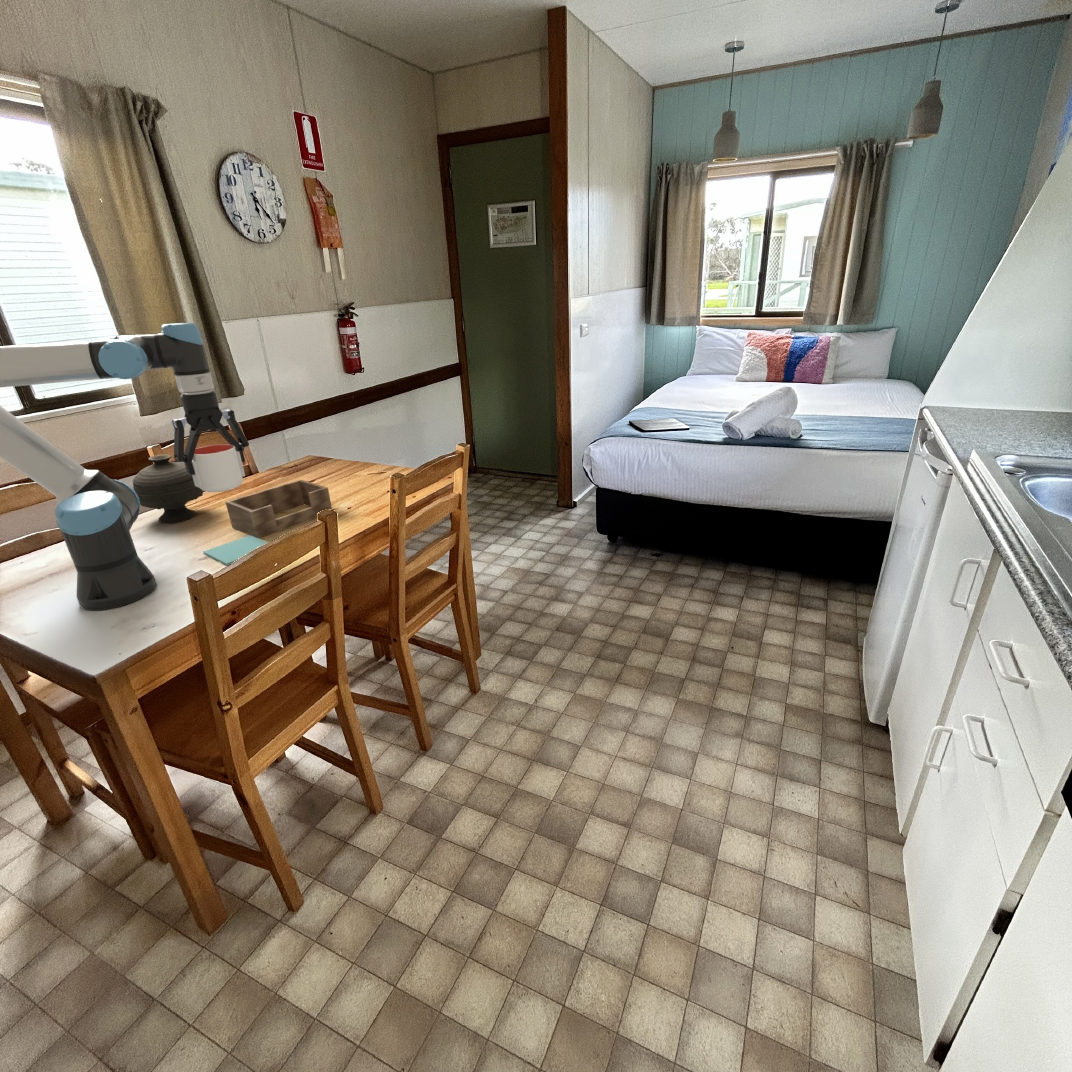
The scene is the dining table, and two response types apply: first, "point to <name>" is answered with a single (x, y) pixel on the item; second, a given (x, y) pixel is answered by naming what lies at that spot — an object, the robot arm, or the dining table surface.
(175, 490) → the pot
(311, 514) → the crate
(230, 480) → the cup
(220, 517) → the dining table surface
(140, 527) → the dining table surface
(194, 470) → the robot arm
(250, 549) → the mat
